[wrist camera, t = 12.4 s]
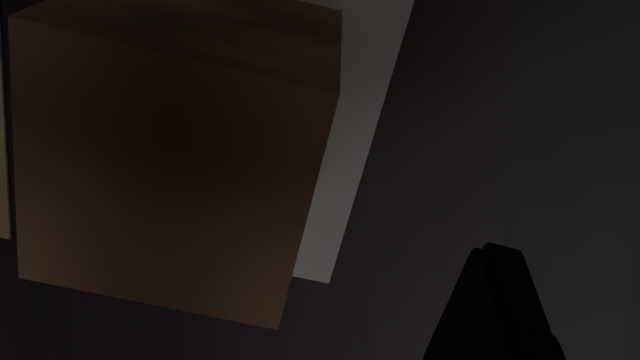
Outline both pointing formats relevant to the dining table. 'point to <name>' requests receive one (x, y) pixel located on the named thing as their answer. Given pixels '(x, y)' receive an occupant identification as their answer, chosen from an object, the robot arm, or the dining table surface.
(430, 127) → the dining table surface
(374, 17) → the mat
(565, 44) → the dining table surface
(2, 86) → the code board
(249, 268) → the walnut block
